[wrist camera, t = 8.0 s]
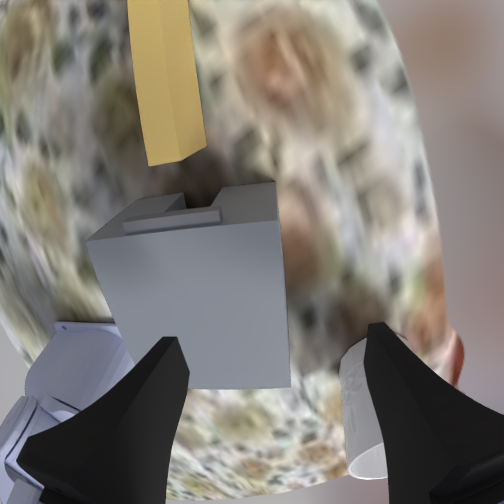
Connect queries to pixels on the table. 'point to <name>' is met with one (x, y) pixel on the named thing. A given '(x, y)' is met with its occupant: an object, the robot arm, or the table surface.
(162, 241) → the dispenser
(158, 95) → the yellow rectangular block
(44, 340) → the table surface
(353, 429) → the white cup
